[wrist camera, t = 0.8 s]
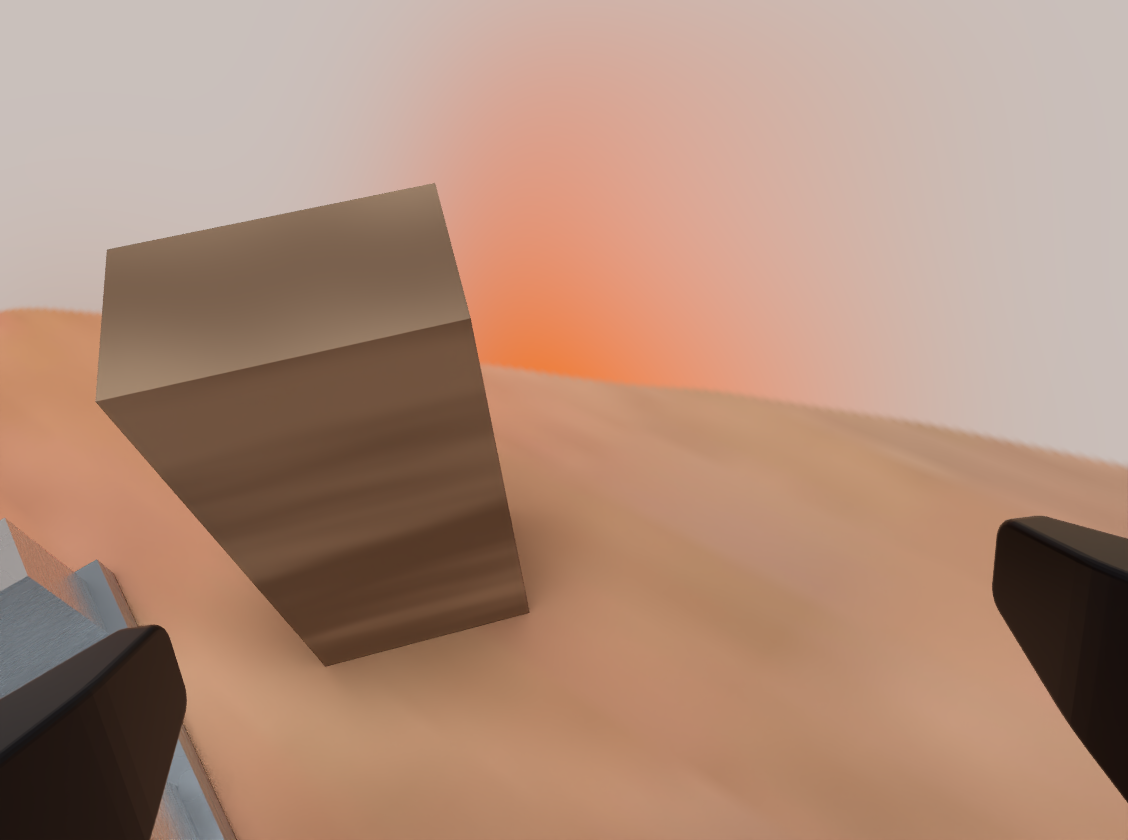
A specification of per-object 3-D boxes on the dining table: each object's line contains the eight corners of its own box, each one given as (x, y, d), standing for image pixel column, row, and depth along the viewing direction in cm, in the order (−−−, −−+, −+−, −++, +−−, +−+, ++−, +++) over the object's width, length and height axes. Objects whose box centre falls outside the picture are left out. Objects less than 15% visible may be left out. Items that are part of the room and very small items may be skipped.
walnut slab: (529, 612, 24) (470, 318, 14) (325, 666, 24) (95, 401, 13) (504, 510, 26) (435, 183, 16) (315, 558, 26) (106, 249, 15)
